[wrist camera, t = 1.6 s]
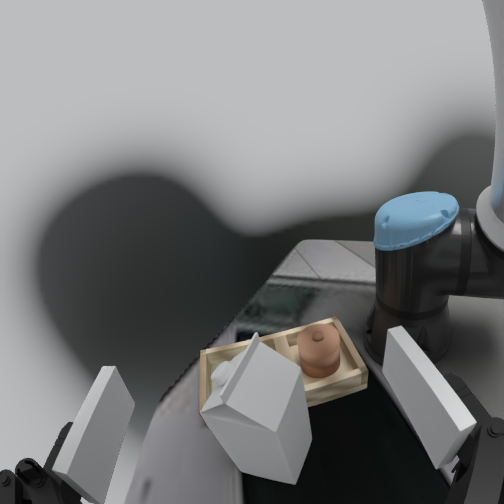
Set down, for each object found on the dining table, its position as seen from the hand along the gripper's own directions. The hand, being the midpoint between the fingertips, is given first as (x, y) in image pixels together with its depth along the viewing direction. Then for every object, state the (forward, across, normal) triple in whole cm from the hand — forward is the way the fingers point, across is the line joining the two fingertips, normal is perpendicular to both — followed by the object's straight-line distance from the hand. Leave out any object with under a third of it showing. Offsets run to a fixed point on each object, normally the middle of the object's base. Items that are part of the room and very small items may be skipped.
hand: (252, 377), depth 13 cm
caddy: (+23, +2, -23) cm, 33 cm away
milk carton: (+10, 0, -24) cm, 27 cm away
